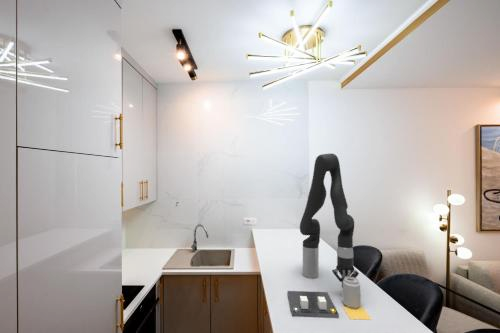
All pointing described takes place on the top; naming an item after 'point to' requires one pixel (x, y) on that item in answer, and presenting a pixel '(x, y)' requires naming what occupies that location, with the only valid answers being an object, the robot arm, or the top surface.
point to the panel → (311, 304)
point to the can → (351, 292)
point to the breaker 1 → (303, 302)
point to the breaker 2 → (322, 303)
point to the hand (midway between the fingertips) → (345, 289)
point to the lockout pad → (356, 313)
